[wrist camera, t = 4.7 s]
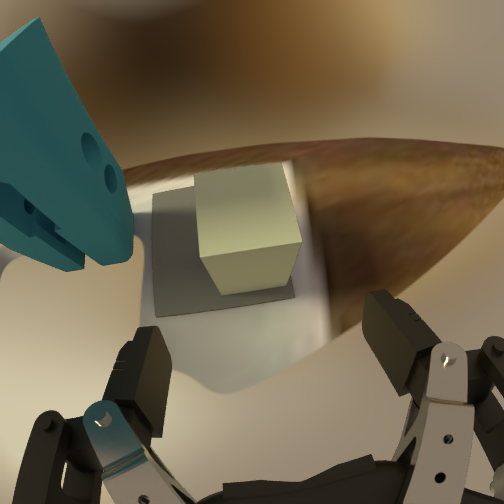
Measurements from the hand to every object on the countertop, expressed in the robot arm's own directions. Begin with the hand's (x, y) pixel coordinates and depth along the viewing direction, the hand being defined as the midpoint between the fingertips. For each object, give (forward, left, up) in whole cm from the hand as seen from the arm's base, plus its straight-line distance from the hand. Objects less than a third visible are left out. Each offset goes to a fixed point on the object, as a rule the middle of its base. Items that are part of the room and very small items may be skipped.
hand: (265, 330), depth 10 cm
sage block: (0, +7, -10) cm, 12 cm away
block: (-14, +11, -11) cm, 21 cm away
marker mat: (-2, +9, -11) cm, 14 cm away
